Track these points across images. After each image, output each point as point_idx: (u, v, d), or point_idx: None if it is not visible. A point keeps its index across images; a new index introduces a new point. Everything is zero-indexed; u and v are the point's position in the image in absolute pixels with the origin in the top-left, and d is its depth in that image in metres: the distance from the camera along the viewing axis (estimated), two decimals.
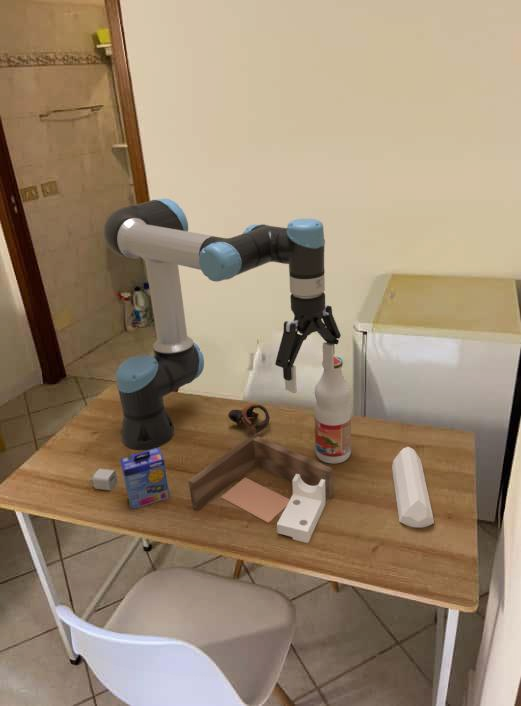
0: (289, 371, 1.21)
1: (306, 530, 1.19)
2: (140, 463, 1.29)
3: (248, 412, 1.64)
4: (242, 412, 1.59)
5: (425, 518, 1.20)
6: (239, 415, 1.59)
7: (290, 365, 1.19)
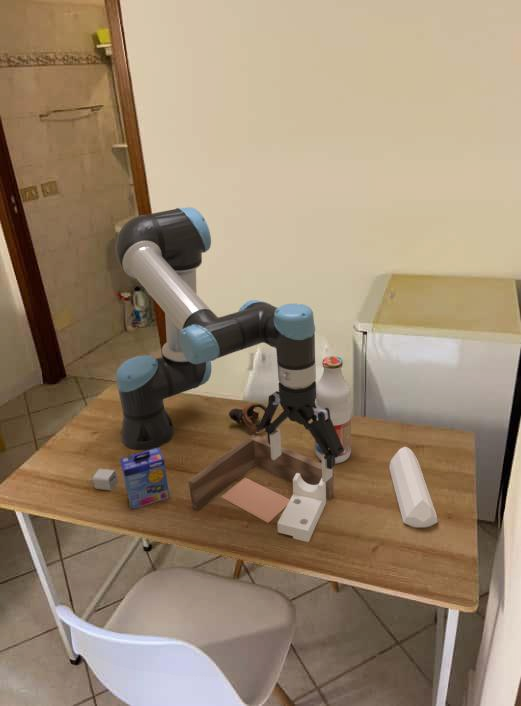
0: (270, 436, 1.21)
1: (306, 529, 1.19)
2: (140, 463, 1.29)
3: (249, 411, 1.64)
4: (243, 411, 1.59)
5: (430, 518, 1.20)
6: (240, 414, 1.59)
7: (266, 430, 1.20)
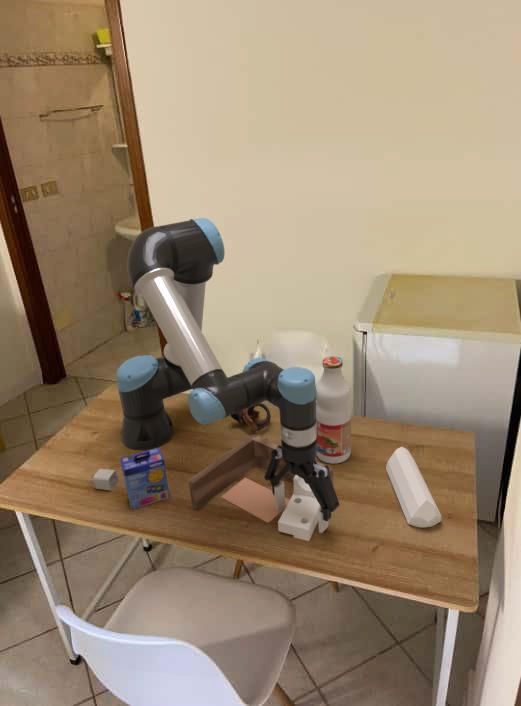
0: None
1: (307, 528, 1.19)
2: (140, 463, 1.29)
3: (249, 410, 1.65)
4: (243, 410, 1.60)
5: (434, 517, 1.20)
6: (240, 413, 1.59)
7: (271, 483, 1.26)
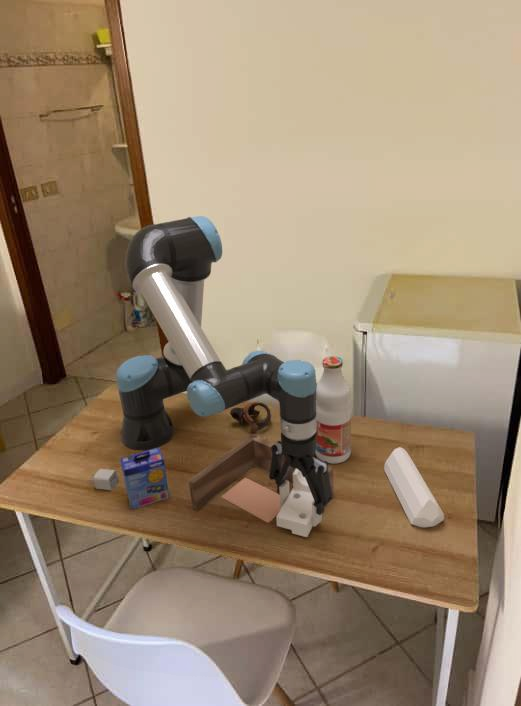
0: None
1: (305, 523, 1.19)
2: (140, 463, 1.29)
3: (249, 410, 1.65)
4: (244, 410, 1.60)
5: (438, 517, 1.20)
6: (241, 413, 1.60)
7: (276, 482, 1.25)
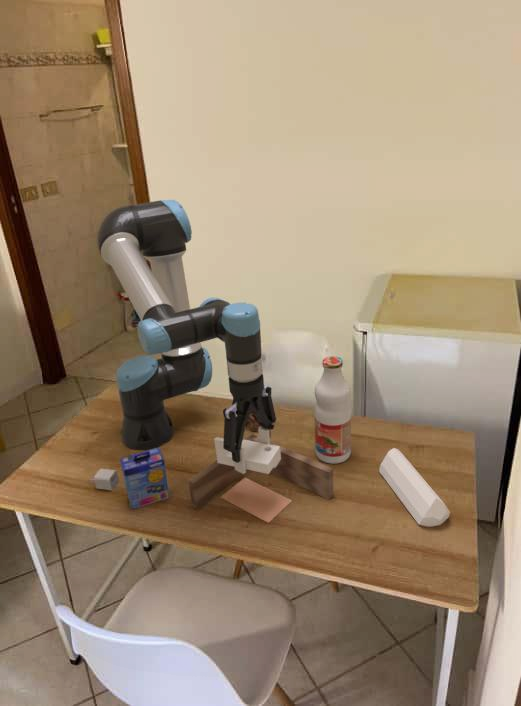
0: (238, 453, 1.22)
1: (278, 447, 1.27)
2: (140, 463, 1.29)
3: None
4: None
5: (445, 515, 1.20)
6: None
7: (238, 449, 1.21)
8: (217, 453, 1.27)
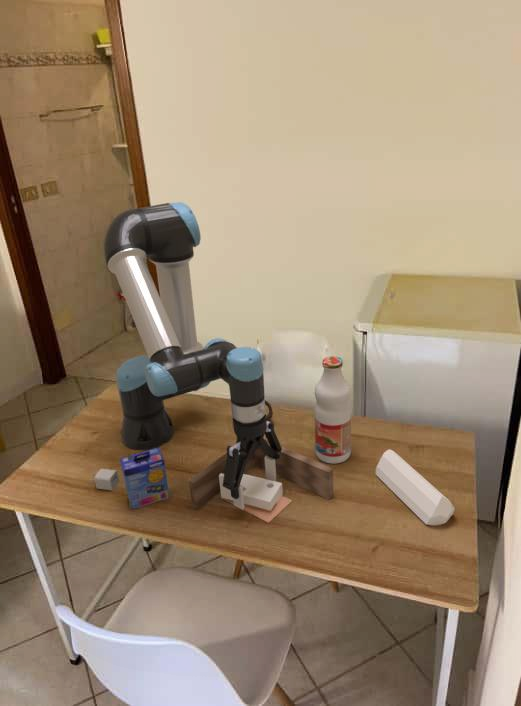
0: (237, 490, 1.25)
1: (280, 483, 1.32)
2: (140, 463, 1.29)
3: None
4: None
5: (451, 512, 1.21)
6: None
7: (237, 486, 1.24)
8: (221, 488, 1.32)
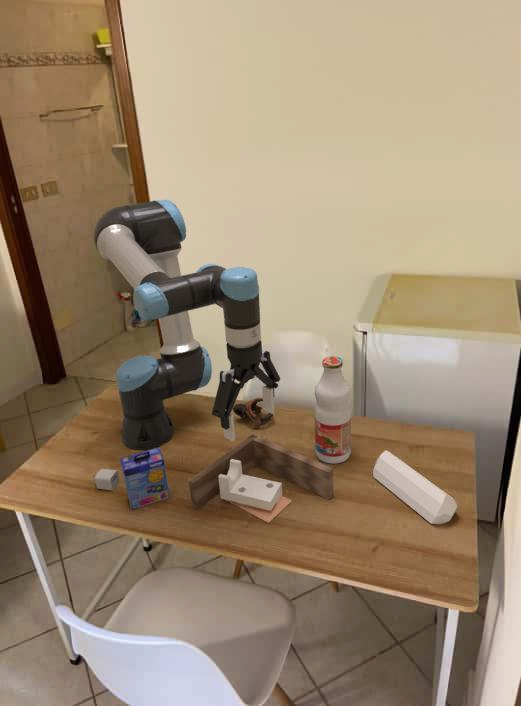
0: (227, 420, 1.19)
1: (279, 483, 1.32)
2: (140, 463, 1.29)
3: (252, 406, 1.67)
4: (246, 406, 1.62)
5: (455, 509, 1.22)
6: (244, 409, 1.62)
7: (227, 415, 1.17)
8: (221, 489, 1.31)
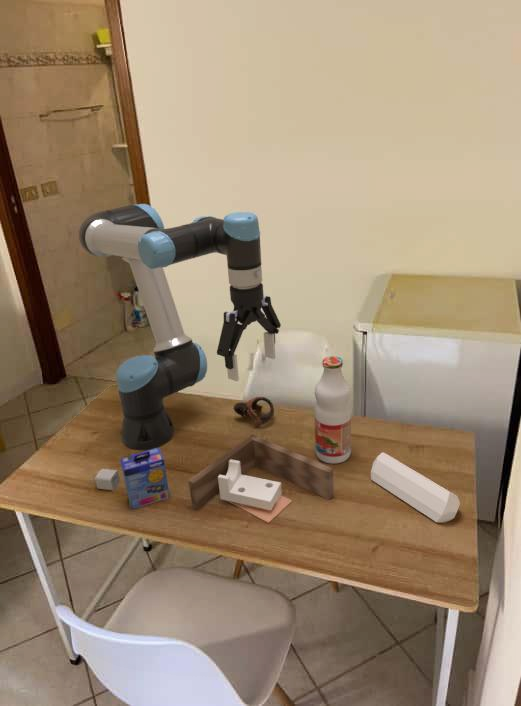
0: (231, 360, 1.25)
1: (279, 483, 1.32)
2: (140, 463, 1.29)
3: (252, 405, 1.67)
4: (247, 405, 1.62)
5: (458, 506, 1.22)
6: (244, 408, 1.62)
7: (231, 354, 1.24)
8: (220, 490, 1.31)
